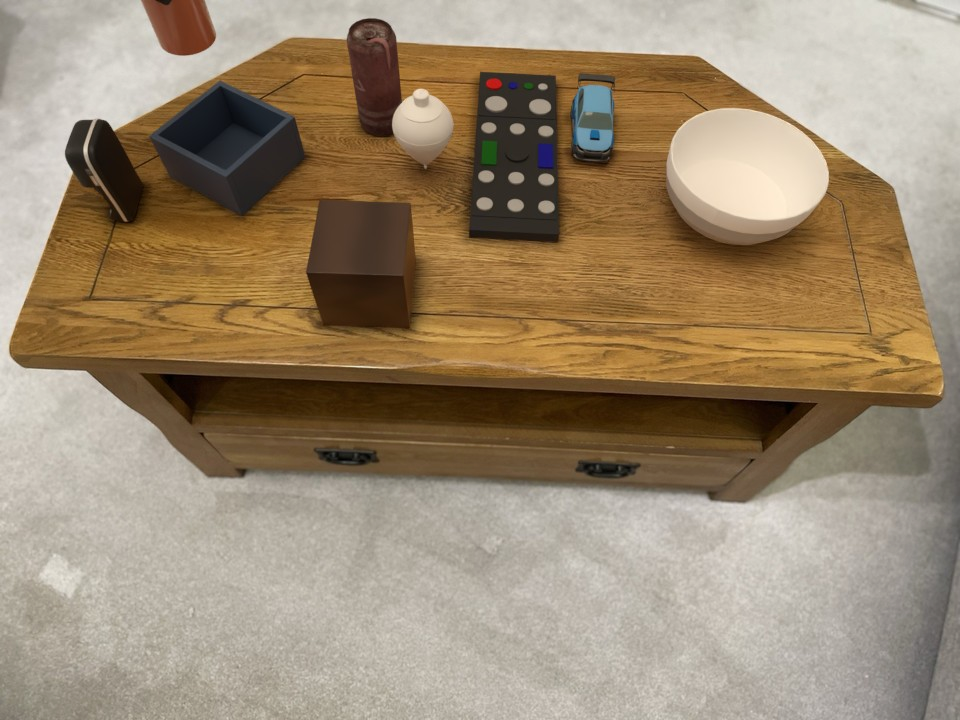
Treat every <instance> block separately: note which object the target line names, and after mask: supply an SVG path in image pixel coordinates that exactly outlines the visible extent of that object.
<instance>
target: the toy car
mask: <svg viewBox="0 0 960 720" xmlns="http://www.w3.org/2000/svg"><path fill="white" fill-rule="evenodd" d="M582 82H597V83H598V82H599V83H606V84H611V88H610V87H608V86H606V85H601V84H600V85H599V84H587V85H582V86H581V84H580V83H582ZM615 86H616V76H615V75H609V74H597V73H596V74H595V73H579V74H578V76H577V87H576V89H577V92H576V93H575V95H574V98H573V99H572V102H571V107H570V115H569V116H570V120H571V145H570V154H571V156H573V159H575V160H576V161H579V162H585V163H594V164H595V163H597V164H599V163H600V164H602V163H607V162H609V161H610V160H611V159H610V158H611V157H612V155H613V149H614V143H615V133H614V111H615V100H614V95H613V93H615V90H613V88H615Z"/></svg>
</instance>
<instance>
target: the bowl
mask: <svg viewBox="0 0 960 720" xmlns="http://www.w3.org/2000/svg"><path fill="white" fill-rule="evenodd" d="M665 169H666V170H665V183H666V190H667V193H668V197H669V199H670V201H671V203H672V204H673V207H674V208H675V210H676V211H677V214H678V215H679V217H680V218H681V219H682V220H683V221H684V222H685V224H686V225H687V226H689V227H690V228H691V229H692V230H694V231H695V232H697V233H699V234H700V235H702V236H704V237H706V238H708V239H711V240H713V241H715V242H719V243H723V244H727V245H734V246H748V245H749V246H750V245H756V244H760V243H765V242H768V241H772V240H776V239H779V238H781V237H783V236H785V235H788V233H790V232H791V231H792V230H793V229H795V228H796V227H797V226H798V225H801V223H802V222H804V221H805V220H807V218H809V216H810V215H811V214H812V213H813V211H814V210H815V209H816V208H817V206H818V205H819V204H820V203H821V201H822V200H823V199H824V197H825V196H826V193H827V190H828V187H829V178H830V172H829V167H828V164H827V161H826V159H825V157H824V155H823V152H822V151H821V149H820V148H819V147H818V146H817V144H816V143H815V142H814V141H813V140H812V139H811V138H810V136H808V135H807V134H806V133H805V132H804V131H802V130H801V129H799V128H798V127H796V126H795V125H793V124H792V123H790V122H788V121H786V120H783V119H782V118H780V117H778V116H775V115H772V114H770V113H766V112H763V111H759V110H755V109H750V108H739V107H723V108H716V109H712V110H711V109H710V110H706V111H704V112H701V113H699V114H696V115H694V116H692V117H691V118H689V119H688V120H686V121H684V122H683V123H682V125H680V127H679V128H678V129H677V130H676V131H675V133H674V135H673V137H672V139H671V142H670V146H669V149H668V154H667V159H666V164H665Z"/></svg>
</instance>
